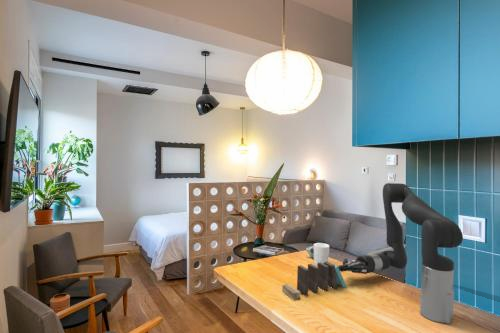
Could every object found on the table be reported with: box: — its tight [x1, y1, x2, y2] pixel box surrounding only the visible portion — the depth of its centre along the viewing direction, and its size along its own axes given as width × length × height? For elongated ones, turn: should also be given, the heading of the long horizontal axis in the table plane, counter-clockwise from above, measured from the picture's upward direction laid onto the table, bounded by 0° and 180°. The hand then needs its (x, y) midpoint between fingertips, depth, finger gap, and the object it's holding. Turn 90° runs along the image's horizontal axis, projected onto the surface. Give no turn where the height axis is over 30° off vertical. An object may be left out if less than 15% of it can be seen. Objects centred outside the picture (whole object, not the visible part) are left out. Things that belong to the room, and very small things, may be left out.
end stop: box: [281, 283, 301, 301], centre depth 116 cm, size 3×8×2 cm, turn 26°
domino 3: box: [316, 262, 329, 292], centre depth 122 cm, size 2×5×10 cm, turn 26°
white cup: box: [313, 242, 331, 267], centre depth 151 cm, size 8×8×10 cm
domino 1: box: [296, 264, 309, 296], centre depth 118 cm, size 2×5×10 cm, turn 25°
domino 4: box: [324, 261, 338, 290], centre depth 124 cm, size 2×5×10 cm, turn 25°
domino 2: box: [307, 263, 319, 294], centre depth 120 cm, size 2×5×10 cm, turn 26°
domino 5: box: [328, 261, 347, 288], centre depth 126 cm, size 2×5×10 cm, turn 24°
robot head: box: [305, 245, 314, 259], centre depth 160 cm, size 8×4×7 cm, turn 72°
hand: (339, 268), depth 126 cm, fingers closed
